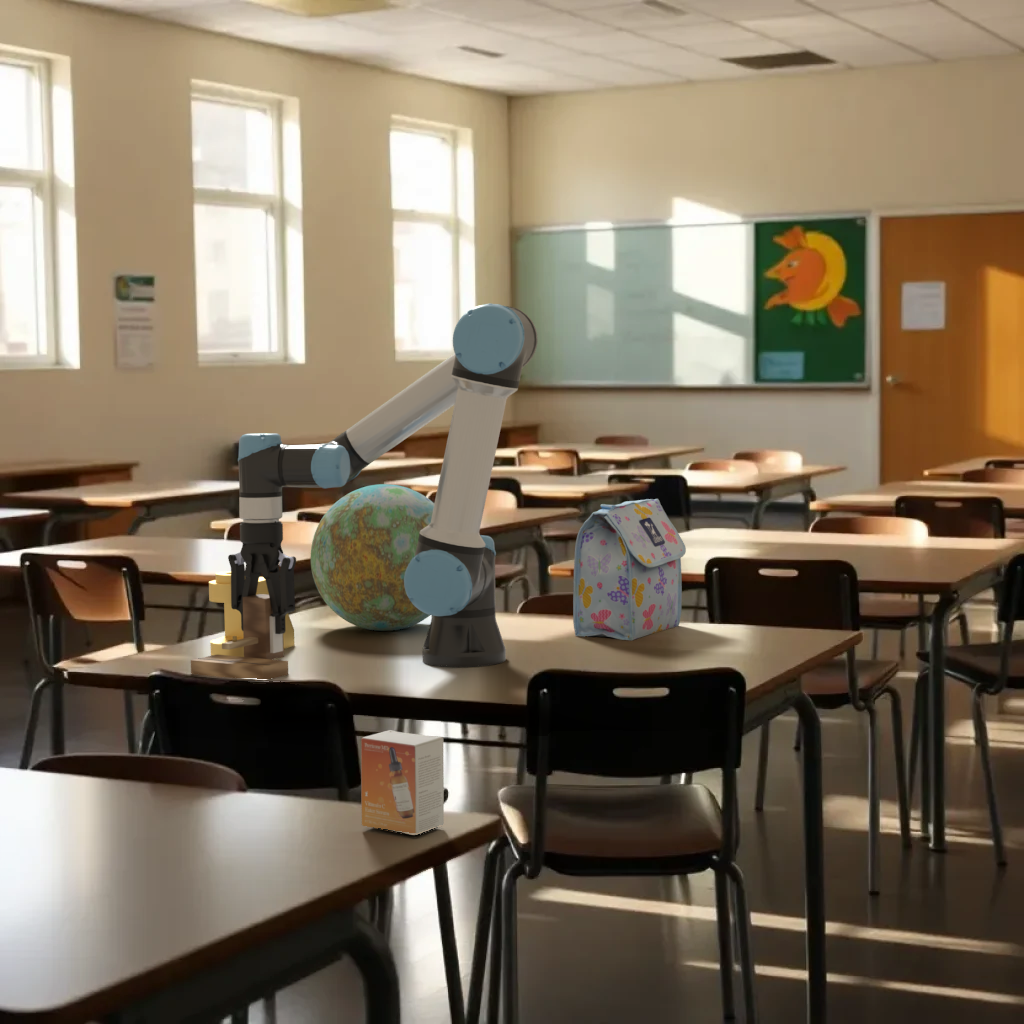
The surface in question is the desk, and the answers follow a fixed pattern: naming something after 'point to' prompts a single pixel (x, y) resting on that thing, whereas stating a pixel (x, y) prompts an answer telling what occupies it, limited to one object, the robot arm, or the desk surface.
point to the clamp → (237, 615)
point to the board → (239, 667)
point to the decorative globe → (370, 555)
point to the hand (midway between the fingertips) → (263, 650)
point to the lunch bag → (627, 572)
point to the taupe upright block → (255, 629)
